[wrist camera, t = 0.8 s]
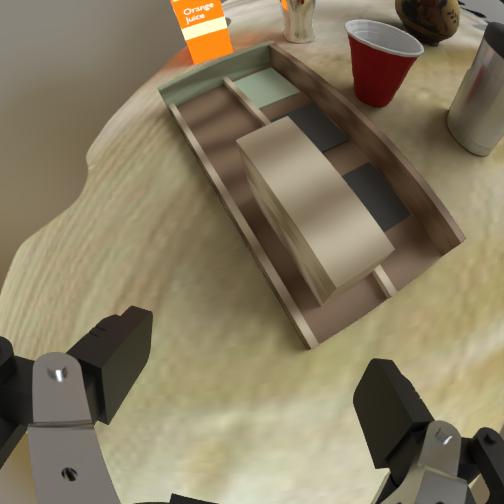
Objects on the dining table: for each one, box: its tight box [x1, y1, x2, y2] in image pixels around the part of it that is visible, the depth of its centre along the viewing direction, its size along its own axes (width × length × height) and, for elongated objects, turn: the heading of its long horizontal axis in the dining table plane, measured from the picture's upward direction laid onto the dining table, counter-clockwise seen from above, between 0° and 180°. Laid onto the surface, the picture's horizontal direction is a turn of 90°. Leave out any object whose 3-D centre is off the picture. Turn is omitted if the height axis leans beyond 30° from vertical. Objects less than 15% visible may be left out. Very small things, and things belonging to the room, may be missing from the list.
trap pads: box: [270, 103, 411, 232], centre depth 31 cm, size 20×7×1 cm, turn 29°
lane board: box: [158, 40, 466, 350], centre depth 31 cm, size 39×19×5 cm, turn 29°
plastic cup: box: [344, 20, 424, 107], centre depth 30 cm, size 11×11×12 cm
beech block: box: [236, 116, 395, 307], centre depth 24 cm, size 14×5×10 cm, turn 29°
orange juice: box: [171, 0, 233, 64], centre depth 35 cm, size 8×9×20 cm
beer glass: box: [278, 0, 316, 43], centre depth 35 cm, size 7×7×15 cm
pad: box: [233, 68, 300, 110], centre depth 37 cm, size 8×7×1 cm
